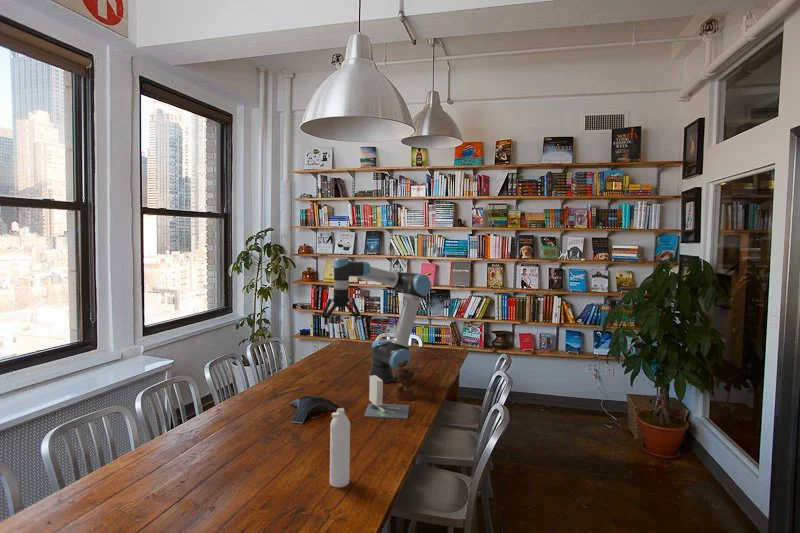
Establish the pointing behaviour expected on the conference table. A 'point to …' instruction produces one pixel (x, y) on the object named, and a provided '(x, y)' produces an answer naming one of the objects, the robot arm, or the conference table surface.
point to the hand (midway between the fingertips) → (340, 330)
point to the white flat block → (376, 392)
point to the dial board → (388, 411)
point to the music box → (404, 382)
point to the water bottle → (339, 449)
